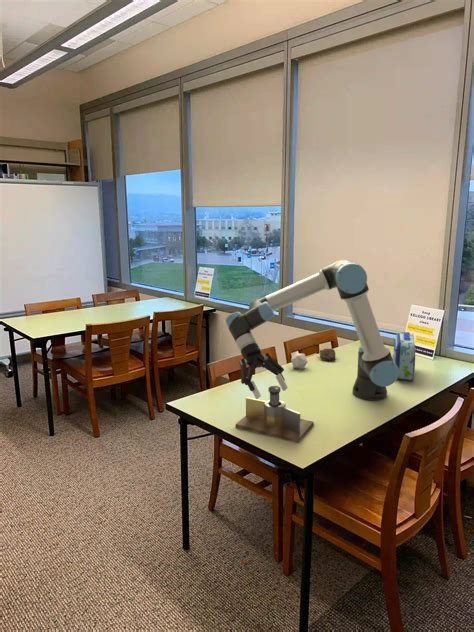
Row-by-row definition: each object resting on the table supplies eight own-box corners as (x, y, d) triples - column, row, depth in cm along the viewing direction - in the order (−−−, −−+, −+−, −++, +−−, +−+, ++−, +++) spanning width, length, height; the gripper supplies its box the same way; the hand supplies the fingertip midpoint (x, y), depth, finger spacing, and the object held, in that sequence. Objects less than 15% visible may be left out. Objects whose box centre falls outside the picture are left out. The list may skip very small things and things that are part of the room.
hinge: (307, 425, 170) (307, 405, 168) (299, 434, 163) (299, 414, 161) (250, 412, 182) (250, 394, 180) (240, 420, 174) (240, 401, 173)
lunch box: (391, 365, 243) (394, 328, 239) (412, 367, 240) (415, 329, 235) (391, 381, 219) (394, 340, 215) (415, 384, 216) (418, 342, 211)
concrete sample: (320, 355, 263) (320, 347, 262) (337, 357, 259) (338, 348, 258) (316, 360, 253) (316, 352, 252) (334, 362, 249) (334, 354, 248)
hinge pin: (282, 421, 173) (282, 387, 170) (277, 426, 170) (277, 391, 167) (271, 419, 176) (271, 385, 173) (267, 423, 172) (266, 389, 169)
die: (298, 372, 235) (309, 358, 234) (286, 362, 238) (296, 348, 237) (301, 373, 243) (312, 359, 242) (289, 363, 246) (299, 349, 245)
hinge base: (313, 425, 174) (313, 421, 173) (298, 442, 160) (298, 439, 160) (254, 412, 186) (254, 408, 186) (235, 427, 172) (235, 423, 172)
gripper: (267, 346, 189) (291, 390, 181) (219, 357, 175) (242, 405, 166) (276, 337, 184) (300, 381, 175) (226, 347, 170) (251, 396, 161)
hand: (272, 393), depth 171 cm, fingers open, 13 cm apart
